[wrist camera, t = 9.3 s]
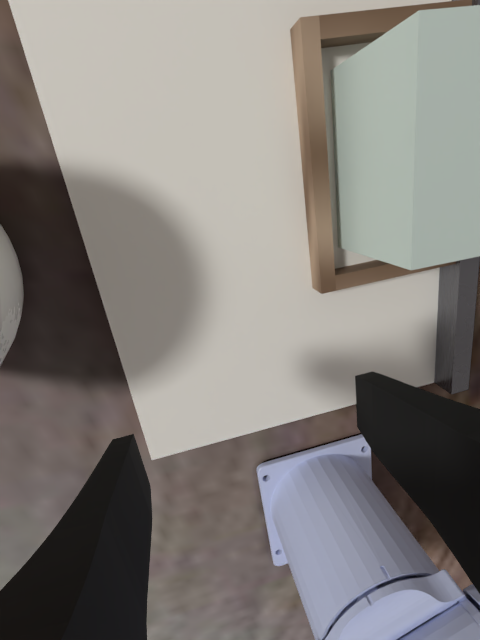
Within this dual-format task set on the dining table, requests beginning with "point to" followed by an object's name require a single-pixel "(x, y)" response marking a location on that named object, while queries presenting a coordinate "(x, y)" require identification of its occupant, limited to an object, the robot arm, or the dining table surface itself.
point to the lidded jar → (9, 294)
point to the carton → (411, 141)
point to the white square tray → (232, 210)
